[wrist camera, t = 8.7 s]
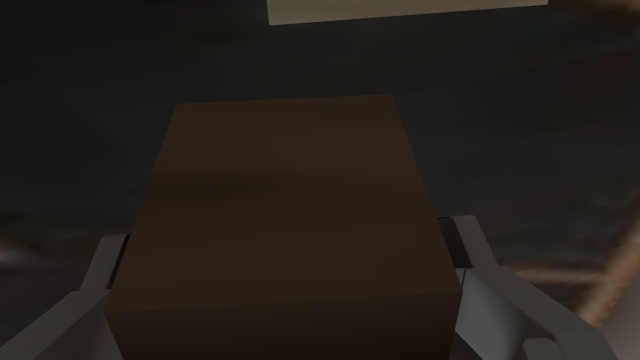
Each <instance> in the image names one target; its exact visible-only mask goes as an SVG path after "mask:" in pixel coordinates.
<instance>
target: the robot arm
mask: <svg viewBox="0 0 640 360" xmlns="http://www.w3.org/2000/svg"><path fill="white" fill-rule="evenodd" d="M437 221H438V223H439V226H440V229H441V232H442V234H443V237H444V240H445V243H446V245H447V248H448V251H449V254H450V256H451V259H452V262H453V265H454V267H455V270H456V273H457V276H458V278H459V281H460V284H461V287H462V289H463V295H462V299H461V304H460V309H459V313H458V318H457V322H456V327H455V331H456V332H457V333H458V334H459V335H460V336H461V337H462V338H463V339H464V340H465V341H466V342H467V343H468V344H469V345H470V346H471V347H472V348H473V349H474V350H475V351H476V352H477V353H478V354H479V355H480V356H481V357H482V359H483V360H618V358H617V357H616V355H615V353H614V352H613V350H612V348H611V347H610V345H609V343H608V342H607V340H606V338H605V337H604V335H603V333H602V332H600V331H599V330H597V329H596V328H595V327H593V326H592V325H590V324H589V323H587V322H586V321H584V320H583V319H581V318H580V317H578V316H577V315H576V314H574V313H573V312H571V311H570V310H568V309H567V308H565V307H564V306H562V305H561V304H559V303H558V302H556V301H555V300H554V299H552V298H551V297H549V296H548V295H546V294H545V293H543V292H542V291H540V290H539V289H537V288H536V287H535V286H533V285H532V284H530V283H529V282H527V281H526V280H524V279H523V278H521V277H520V276H518V275H517V274H516V273H514V272H513V271H511V270H510V269H508V268H507V267H499V266H498V264H497V262H496V260H495V257H494V255H493V253H492V251H491V249H490V247H489V245H488V243H487V240H486V238H485V236H484V234H483V232H482V230H481V228H480V226H479V223H478V221H477V219H476V217H474V216H473V215H465V216H451V217H440V218H437ZM130 235H131V234H118V235H105V236H104V237H103V238H102V239H101V240H100V243H99V245H98V247H97V250H96V252H95V254H94V257H93V259H92V262H91V264H90V266H89V269H88V271H87V273H86V276H85V278H84V281H83V283H82V285H81V288H80V290H79V291H75V292H71V293H70V294H68V295H67V296H66V297H65V298H63V299H62V300H61V301H60V302H58V303H57V304H56V305H54V306H53V307H52V308H51V309H49V310H48V311H47V312H46V313H44V314H43V315H42V316H41V317H39V318H38V319H37V320H35V321H34V322H33V323H32V324H30V325H29V326H28V327H27V328H25V329H24V330H23V331H21V332H20V333H19V334H18V335H16V336H15V337H14V338H13V339H11V340H10V341H9V342H8V343H6V344H5V345H4V346H2V347H1V348H0V360H123V358H122V355H121V353H120V351H119V348H118V346H117V344H116V341H115V339H114V337H113V334H112V332H111V330H110V327H109V325H108V323H107V320H106V318H105V316H104V313H103V311H104V309H105V306H106V303H107V300H108V297H109V294H110V292H111V289H112V286H113V283H114V280H115V277H116V275H117V272H118V269H119V266H120V263H121V261H122V258H123V255H124V252H125V249H126V246H127V244H128V241H129V238H130Z"/></svg>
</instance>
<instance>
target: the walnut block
mask: <svg viewBox="0 0 640 360" xmlns="http://www.w3.org/2000/svg"><path fill="white" fill-rule="evenodd" d="M462 295H463V289H462V287H461V284H460V281H459V278H458V276H457V273H456V270H455V267H454V265H453V262H452V259H451V256H450V254H449V251H448V248H447V245H446V243H445V240H444V237H443V234H442V232H441V229H440V226H439V223H438V221H437V218H436V215H435V212H434V210H433V207H432V204H431V201H430V199H429V196H428V193H427V190H426V188H425V185H424V182H423V179H422V177H421V174H420V171H419V169H418V166H417V163H416V160H415V158H414V155H413V152H412V149H411V147H410V144H409V141H408V138H407V136H406V133H405V130H404V127H403V125H402V122H401V119H400V116H399V114H398V111H397V108H396V105H395V103H394V100H393V97H392V94H386V95H364V96H342V97H320V98H299V99H277V100H255V101H233V102H212V103H190V104H177V105H176V108H175V111H174V114H173V116H172V119H171V122H170V125H169V128H168V130H167V133H166V136H165V139H164V142H163V145H162V147H161V150H160V153H159V156H158V159H157V162H156V164H155V167H154V170H153V173H152V176H151V179H150V181H149V184H148V187H147V190H146V193H145V196H144V198H143V201H142V204H141V207H140V210H139V212H138V215H137V218H136V221H135V224H134V227H133V229H132V232H131V235H130V238H129V241H128V244H127V246H126V249H125V252H124V255H123V258H122V261H121V263H120V266H119V269H118V272H117V275H116V277H115V280H114V283H113V286H112V289H111V292H110V294H109V297H108V300H107V303H106V306H105V309H104V311H103V313H104V316H105V318H106V320H107V323H108V325H109V327H110V330H111V332H112V334H113V337H114V339H115V341H116V344H117V346H118V348H119V351H120V353H121V355H122V358H123V360H448V359H449V355H450V350H451V345H452V341H453V336H454V332H455V327H456V322H457V318H458V313H459V309H460V304H461V299H462Z"/></svg>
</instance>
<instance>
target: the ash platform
mask: <svg viewBox="0 0 640 360" xmlns="http://www.w3.org/2000/svg"><path fill="white" fill-rule="evenodd" d="M547 3H548V0H267V7H268V16H269V25H279V24H292V23H305V22H318V21H332V20H345V19H358V18H372V17H385V16H398V15H412V14H425V13H438V12H452V11H465V10H478V9H492V8H505V7H518V6H531V5H545V4H547Z"/></svg>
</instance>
